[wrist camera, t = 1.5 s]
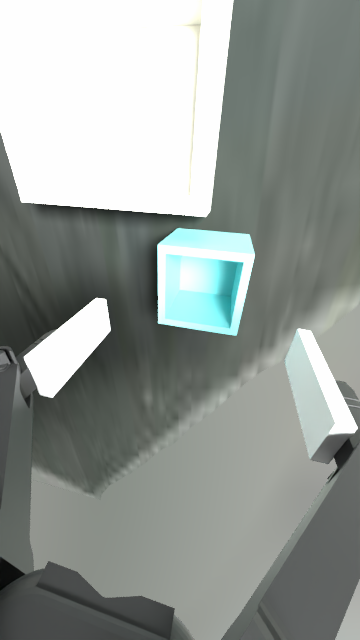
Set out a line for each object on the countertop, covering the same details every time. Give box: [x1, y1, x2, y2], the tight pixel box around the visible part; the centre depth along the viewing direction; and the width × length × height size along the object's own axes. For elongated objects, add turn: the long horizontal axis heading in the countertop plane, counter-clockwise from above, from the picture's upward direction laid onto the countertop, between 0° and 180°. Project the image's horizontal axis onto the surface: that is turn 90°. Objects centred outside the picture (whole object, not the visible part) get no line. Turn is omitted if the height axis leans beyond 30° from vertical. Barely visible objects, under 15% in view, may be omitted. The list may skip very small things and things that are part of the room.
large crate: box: [0, 0, 233, 217], centre depth 20 cm, size 19×14×4 cm
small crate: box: [158, 228, 255, 335], centre depth 24 cm, size 8×8×8 cm
